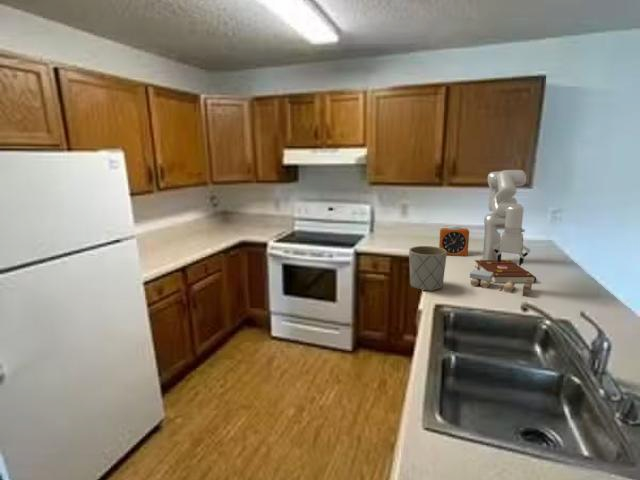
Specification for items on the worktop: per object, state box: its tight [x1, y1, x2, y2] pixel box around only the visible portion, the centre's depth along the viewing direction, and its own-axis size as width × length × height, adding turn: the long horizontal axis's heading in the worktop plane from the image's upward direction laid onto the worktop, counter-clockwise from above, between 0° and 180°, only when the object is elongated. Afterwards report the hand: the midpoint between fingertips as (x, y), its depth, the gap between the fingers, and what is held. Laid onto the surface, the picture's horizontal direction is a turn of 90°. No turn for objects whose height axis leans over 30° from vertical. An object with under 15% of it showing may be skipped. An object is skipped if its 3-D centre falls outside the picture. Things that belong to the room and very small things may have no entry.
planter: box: [408, 245, 447, 292], centre depth 202 cm, size 19×19×20 cm
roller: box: [502, 280, 516, 293], centre depth 196 cm, size 8×4×4 cm, turn 145°
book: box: [474, 259, 537, 284], centre depth 221 cm, size 23×32×5 cm
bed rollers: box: [470, 278, 517, 294], centre depth 200 cm, size 9×21×4 cm, turn 55°
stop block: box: [522, 280, 533, 298], centre depth 191 cm, size 12×2×5 cm, turn 145°
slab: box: [469, 269, 494, 281], centre depth 203 cm, size 8×10×2 cm
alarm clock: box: [438, 225, 470, 257], centre depth 262 cm, size 18×9×21 cm, turn 76°
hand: (509, 263), depth 194 cm, fingers open, 9 cm apart
